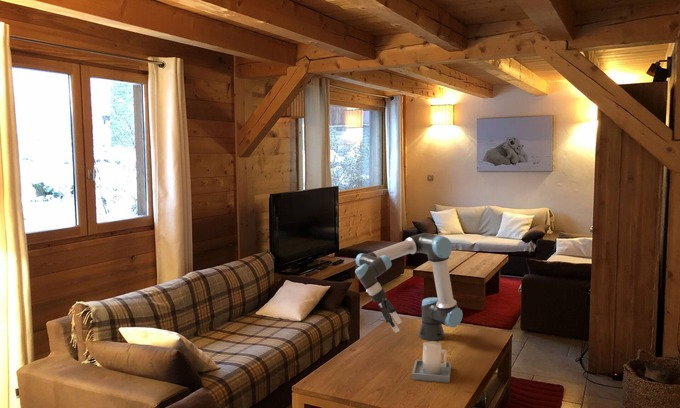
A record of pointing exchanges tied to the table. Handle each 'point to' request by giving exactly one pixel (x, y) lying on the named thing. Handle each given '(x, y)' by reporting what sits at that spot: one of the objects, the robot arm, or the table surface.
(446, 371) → the slate tray
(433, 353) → the white pitcher
